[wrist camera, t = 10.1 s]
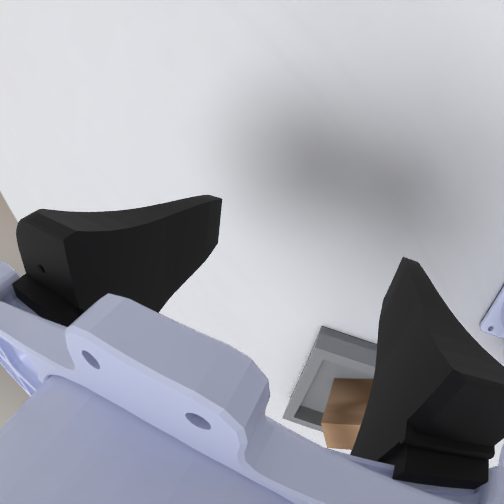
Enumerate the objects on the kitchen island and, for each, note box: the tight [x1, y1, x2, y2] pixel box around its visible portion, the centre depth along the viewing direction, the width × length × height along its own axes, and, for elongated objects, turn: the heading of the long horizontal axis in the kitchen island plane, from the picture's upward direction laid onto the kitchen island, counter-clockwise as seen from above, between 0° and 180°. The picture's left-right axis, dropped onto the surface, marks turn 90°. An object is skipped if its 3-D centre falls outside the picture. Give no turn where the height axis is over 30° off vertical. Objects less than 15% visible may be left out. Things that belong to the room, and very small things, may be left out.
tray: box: [283, 326, 377, 432], centre depth 26 cm, size 12×12×2 cm
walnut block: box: [321, 378, 373, 450], centre depth 25 cm, size 4×4×5 cm
